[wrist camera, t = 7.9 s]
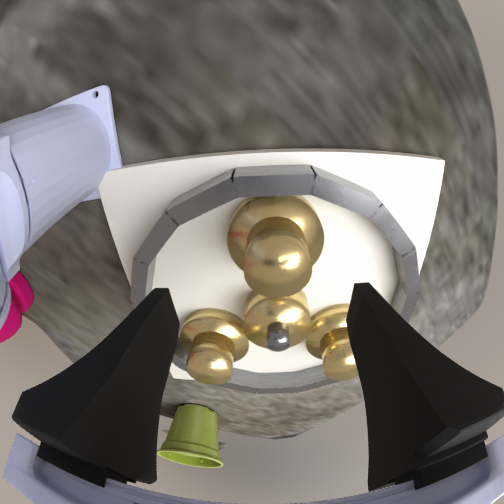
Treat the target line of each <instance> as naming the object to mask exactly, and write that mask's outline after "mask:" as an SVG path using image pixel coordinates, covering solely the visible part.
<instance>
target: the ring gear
mask: <svg viewBox="0 0 504 504" xmlns="http://www.w3.org/2000/svg"><path fill="white" fill-rule="evenodd" d="M292 195H312V196H315V197H318V198H320V199H323V200H325V201H328V202H330V203H333V204H335V205H338V206H340V207H343V208H345V209H348V210H350V211H353V212H355V213H358V214H360V215H362V216H365V217H367V218H369V219H371V220H372V221H373V222H374V224H375V225H376V226H377V227H378V228H379V230H380V231H381V232H382V233H383V234H384V236H385V237H386V238H387V239H388V240H389V242H390V243H391V244H392V248H393V253H394V259H395V264H396V270H397V276H398V282H397V285H396V288H395V292H394V295H393V298H392V301H391V304H390V305H391V306H392V307H393V308H394V309H395V311H396V312H397V313H398V314H399V315H400V316H401V317H402V318H403V319H404V320H405V321H406V322H407V323H408V322H409V319H410V317H411V315H412V312H413V310H414V307H415V305H416V302H417V300H418V297H419V294H420V281H419V269H418V260H417V251H416V248H415V245H414V244H413V243H412V241H411V240H410V238H409V237H408V236H407V234H406V233H405V231H404V230H403V229H402V227H401V226H400V225H399V223H398V222H397V221H396V219H395V218H394V217H393V216H392V214H391V213H390V212H389V210H388V209H387V208H386V207H385V205H384V204H383V203H382V202H381V201H380V200H379V199H378V198H377V196H376V195H375V194H374V193H373V192H371V191H370V190H368V189H366V188H364V187H362V186H360V185H357V184H355V183H353V182H351V181H348V180H346V179H344V178H342V177H339V176H337V175H335V174H332V173H330V172H327V171H325V170H323V169H320V168H318V167H315V166H313V165H311V167H310V166H309V165H268V166H248V167H236V170H235V169H234V168H233V169H231V170H229V171H226V172H224V173H222V174H220V175H218V176H216V177H214V178H212V179H210V180H208V181H206V182H204V183H203V184H201V185H199V186H197V187H195V188H193V189H191V190H189V191H187V192H185V193H183V194H182V195H180V196H178V197H176V198H175V199H174V200H173V201H172V202H171V204H170V205H169V206H168V208H167V209H166V210H165V212H164V213H163V215H162V216H161V217H160V219H159V220H158V222H157V223H156V224H155V226H154V227H153V229H152V230H151V232H150V233H149V234H148V236H147V237H146V239H145V240H144V242H143V243H142V245H141V246H140V248H139V249H138V251H137V252H136V254H135V255H134V258H133V262H132V276H131V297H130V302H131V305H132V308H133V310H134V309H135V308H136V307H137V306H138V305H139V304H140V302H141V301H142V300H143V299H144V298H145V297H146V296H147V295H148V294H149V293H150V292H151V291H152V286H153V278H154V271H155V264H156V257H157V254H158V252H159V251H160V250H161V248H162V247H163V246H164V245H165V243H166V242H167V241H168V239H169V238H170V237H171V235H172V234H173V233H174V232H175V230H176V229H177V228H178V226H180V225H182V224H184V223H186V222H188V221H190V220H192V219H194V218H196V217H198V216H200V215H202V214H204V213H207V212H209V211H211V210H213V209H215V208H217V207H219V206H221V205H223V204H226V203H228V202H230V201H232V200H234V199H236V198H243V197H264V196H292ZM189 356H190V354H189V353H187V352H186V351H185V350H184V348H183V347H182V345H181V343H180V338H179V337H178V340H177V346H176V350H175V353H174V357H173V360H172V363H173V364H174V365H176V366H177V367H178V368H180V369H182V370H184V371H186V372H187V365H188V361H189ZM339 381H341V380H331V379H329V378H327V377H326V376H325V374H324V367H323V364H321V365H318V366H314V367H311V368H307V369H303V370H300V371H295V372H268V373H258V372H253V371H248V370H243V369H238V368H234V367H233V369H232V377H231V379H230V380H229V381H228V382H226V383H223V384H216V386H220V387H225V388H230V389H234V390H239V391H245V392H250V393H256V392H257V394H266V393H295V392H298V391H299V392H302V391H306V390H310V389H314V388H318V387H321V386H325V385H329V384H332V383H335V382H339ZM213 385H214V384H213Z"/></svg>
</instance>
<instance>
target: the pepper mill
mask: <svg viewBox="0 0 504 504" xmlns="http://www.w3.org/2000/svg"><path fill="white" fill-rule="evenodd" d="M9 286H10V291H11V304H10V309H9V313H8V316H7V319H6V321H5V323H4V324H3V326H2V328H1V329H0V343H1V342H3V341H5V340H7V339H9V338H10V337H11V336H13V335H14V334H15V333H16V332H17V331H18V329H19V328H20V327H21V324H22V312H26V311H27V310H28V309H29V307H30V306H31V304H32V303H33V300H34V296H33V292H32V289H31V287H30V285H29V283H28V282H27V280H26V279H25V278H24V276H23V275H22V274H21V273H20V272H19V271H18V272H17V273H16V274H15V275H14V276H13V278H12V279H11V280H10V281H9Z"/></svg>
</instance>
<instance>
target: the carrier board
mask: <svg viewBox="0 0 504 504" xmlns="http://www.w3.org/2000/svg"><path fill="white" fill-rule="evenodd" d="M444 163H445V161H444V160H443V159H441V158H439V157H435V156H428V155H419V154H411V153H401V152H389V151H376V150H359V149H329V148H291V149H261V150H243V151H229V152H218V153H207V154H198V155H189V156H181V157H173V158H166V159H159V160H152V161H146V162H140V163H134V164H129V165H123V167H121V168H117V169H112V170H108V171H106V173H105V175H104V178H103V180H102V182H101V183H100V185H99V187H98V189H99V193H100V196H101V200H102V204H103V207H104V211H105V214H106V217H107V221H108V224H109V227H110V230H111V233H112V236H113V239H114V242H115V245H116V248H117V251H118V254H119V257H120V260H121V262H122V265H123V268H124V271H125V273H126V276H127V278H128V281H129V283H130V286H131V276H132V262H133V258H134V255H135V254H136V252H137V251H138V249H139V248H140V246H141V245H142V243H143V242H144V240H145V239H146V237H147V236H148V234H149V233H150V232H151V230H152V229H153V227H154V226H155V224H156V223H157V222H158V220H159V219H160V217H161V216H162V215H163V213H164V212H165V210H166V209H167V208H168V206H169V205H170V204H171V202H172V201H173V200H174V199H175V198H176V197H178V196H180V195H182V194H183V193H185V192H187V191H189V190H191V189H193V188H195V187H197V186H199V185H201V184H203V183H204V182H206V181H208V180H210V179H212V178H214V177H216V176H218V175H220V174H222V173H224V172H226V171H229V170H231V169H233V168H234V169H235V170H236V167H248V166H268V165H309V166H310V167H311V165H313V166H315V167H318V168H320V169H323V170H325V171H327V172H330V173H332V174H335V175H337V176H339V177H342V178H344V179H346V180H348V181H351V182H353V183H355V184H357V185H360V186H362V187H364V188H366V189H368V190H370V191H371V192H373V193H374V194H375V195H376V196H377V198H378V199H379V200H380V201H381V202H382V203H383V204H384V205H385V207H386V208H387V209H388V210H389V212H390V213H391V214H392V216H393V217H394V218H395V219H396V221H397V222H398V223H399V225H400V226H401V227H402V229H403V230H404V231H405V233H406V234H407V236H408V237H409V238H410V240H411V241H412V243H413V244H414V245H415V248H416V251H417V260H418V269H419V273H420V270H421V267H422V264H423V260H424V257H425V253H426V250H427V246H428V243H429V239H430V235H431V231H432V227H433V223H434V219H435V214H436V209H437V205H438V200H439V194H440V189H441V183H442V177H443V171H444ZM301 196H303V197H304V198H305V199H307V200H308V201H309V202H310V203H311V204H312V206H313V207H314V209H315V210H316V212H317V214H318V217H319V219H320V222H321V224H322V227H323V230H324V246H323V250H322V253H321V255H320V257H319V259H318V260H317V262H316V263H315V264H314V265H313V266H312V276H311V279H310V281H309V282H308V284H307V285H306V286H305V287H304V288H303V289H302V291H303V292H304V293H305V295H306V296H307V299H308V305H309V311H310V318H311V317H312V316H313V315H314V314H315V313H317V312H318V311H320V310H322V309H324V308H326V307H329V306H332V305H336V304H343V303H348V304H350V300H351V296H352V291H353V287H354V283H364V282H369V283H370V284H371V285H372V286H373V287H374V288H375V289H376V290H377V291H378V292H379V293H380V295H381V296H382V297H383V298H384V299H385V300H386V301H387V302H388V303H389V304H391V301H392V298H393V295H394V292H395V288H396V285H397V282H398V276H397V270H396V264H395V259H394V253H393V248H392V244H391V243H390V242H389V240H388V239H387V238H386V237H385V236H384V234H383V233H382V232H381V231H380V230H379V228H378V227H377V226H376V225H375V224H374V222H373V221H372V220H371V219H369V218H367V217H365V216H362V215H360V214H358V213H355V212H353V211H350V210H348V209H345V208H343V207H340V206H338V205H335V204H333V203H330V202H328V201H325V200H323V199H320V198H318V197H315V196H312V195H301ZM245 198H247V197H243V198H236V199H234V200H232V201H230V202H228V203H226V204H223V205H221V206H219V207H217V208H215V209H213V210H211V211H209V212H207V213H204V214H202V215H200V216H198V217H196V218H194V219H192V220H190V221H188V222H186V223H184V224H182V225H180V226H178V228H177V229H176V230H175V232H174V233H173V234H172V235H171V237H170V238H169V239H168V241H167V242H166V243H165V245H164V246H163V247H162V248H161V250H160V251H159V252H158V254H157V257H156V264H155V271H154V278H153V286H152V290H153V289H154V288H169V291H170V294H171V297H172V300H173V304H174V307H175V310H176V313H177V316H178V319H179V322H180V328H179V334H178V337H179V338H180V333H181V330H182V326H183V323H184V320H185V318H186V317H187V316H188V315H189V314H190V313H192V312H194V311H196V310H200V309H205V308H216V309H222V310H226V311H229V312H231V313H234V314H235V315H237V316H239V317H240V318H241V319H242V320H244V316H245V304H246V299H247V297H248V295H249V294H250V293H251V292H252V291H253V290H252V289H251V288H250V287H249V286H248V284H247V282H246V281H245V278H244V271H242V270H241V269H240V268H239V267H238V266H237V265H236V264H235V262H234V261H233V260H232V258H231V256H230V253H229V250H228V246H227V234H228V230H229V225H230V221H231V217H232V215H233V213H234V211H235V209H236V208H237V206H238V205H239V204H240V203H241V202H242V201H243V200H244V199H245ZM321 364H323V360H322V359H318V358H316V357H314V356H312V355H311V354H310V353H309V352H308V350H307V348H306V341H305V340H304V341H302V342H301V343H299V344H297V345H295V346H293V347H290V348H288V349H286V350H284V351H280V352H275V351H271V350H269V349H267V348H263V347H260V346H257V345H255V344H254V343H252V342H251V341H250V340H249V349H248V352H247V354H246V355H245V356H244V357H243V358H242V359H240V360H238V361H236V362H233V367H234V368H238V369H243V370H248V371H253V372H258V373H268V372H295V371H300V370H303V369H307V368H311V367H314V366H318V365H321ZM170 372H171V374H172V376H173V378H177V379H190V380H195V379H193V378H192V377H191V376H190V375H189V374H188V373H187V372H186V371H184V370H182V369H180V368H178V367H177V366H176V365H174V364H173V363H171V367H170Z"/></svg>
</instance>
